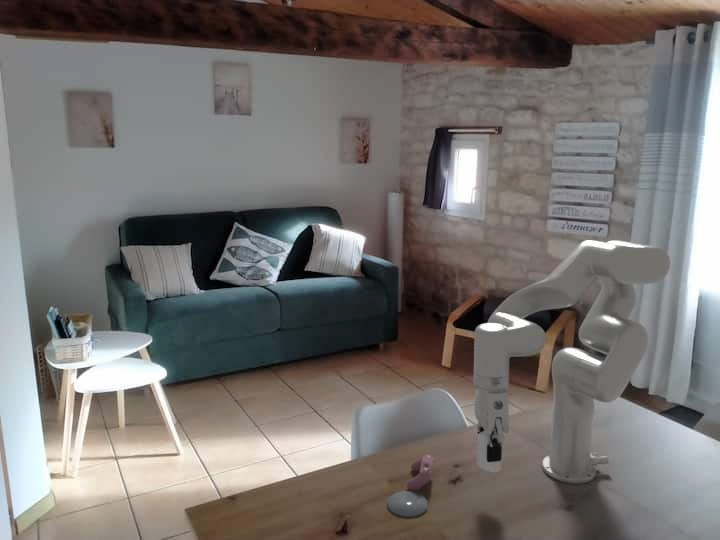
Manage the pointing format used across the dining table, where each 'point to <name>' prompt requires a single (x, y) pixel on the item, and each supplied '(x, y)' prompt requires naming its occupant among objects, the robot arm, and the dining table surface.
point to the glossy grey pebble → (407, 504)
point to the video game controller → (421, 472)
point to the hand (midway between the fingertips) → (489, 453)
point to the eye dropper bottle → (482, 453)
